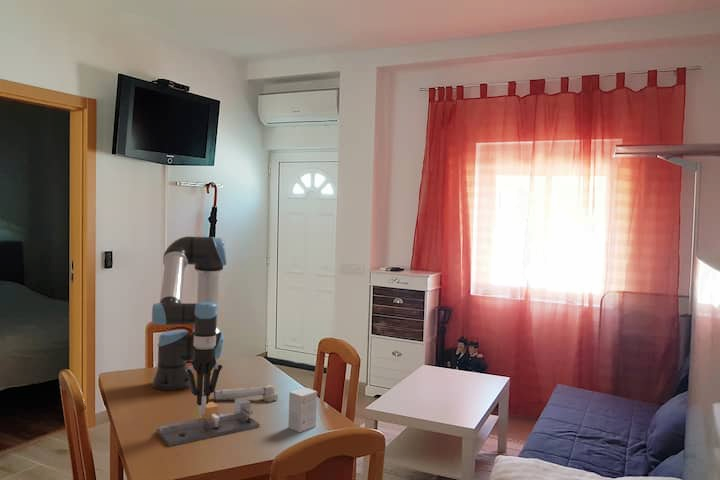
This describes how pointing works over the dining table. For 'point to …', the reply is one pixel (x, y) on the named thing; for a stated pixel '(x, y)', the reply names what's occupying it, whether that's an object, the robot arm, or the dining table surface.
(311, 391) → the small box
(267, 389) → the white elongated piece
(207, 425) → the bolt plate
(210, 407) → the block
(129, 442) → the dining table surface
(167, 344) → the robot arm
